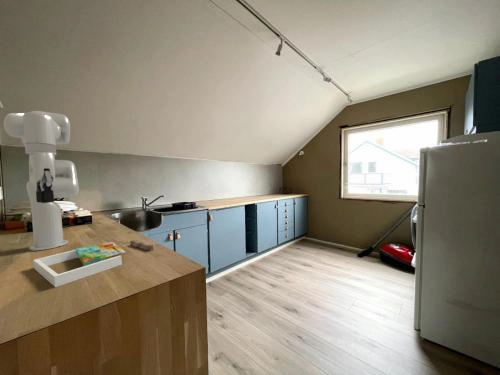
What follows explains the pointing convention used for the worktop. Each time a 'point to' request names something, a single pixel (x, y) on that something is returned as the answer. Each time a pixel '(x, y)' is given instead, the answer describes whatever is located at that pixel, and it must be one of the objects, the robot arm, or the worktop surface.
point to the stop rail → (141, 245)
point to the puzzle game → (99, 252)
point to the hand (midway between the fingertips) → (45, 201)
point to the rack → (72, 275)
